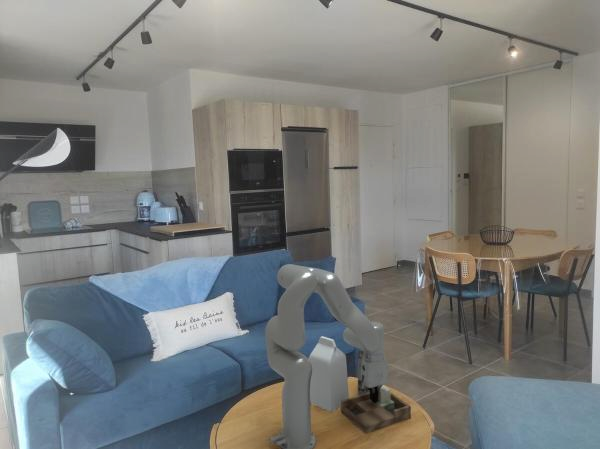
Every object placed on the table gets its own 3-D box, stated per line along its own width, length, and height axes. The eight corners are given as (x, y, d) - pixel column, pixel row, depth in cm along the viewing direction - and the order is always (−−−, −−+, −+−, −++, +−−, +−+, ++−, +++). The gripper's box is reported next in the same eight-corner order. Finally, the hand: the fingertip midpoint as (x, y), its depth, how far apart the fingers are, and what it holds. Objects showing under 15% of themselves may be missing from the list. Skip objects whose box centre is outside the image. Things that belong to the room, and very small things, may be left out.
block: (381, 402, 170) (381, 392, 169) (374, 397, 174) (374, 387, 173) (390, 399, 172) (390, 389, 172) (383, 394, 176) (383, 385, 175)
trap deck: (366, 433, 155) (366, 421, 154) (341, 412, 169) (341, 401, 168) (410, 417, 164) (410, 406, 163) (383, 398, 178) (383, 387, 177)
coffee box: (373, 398, 178) (373, 360, 176) (357, 397, 179) (357, 359, 177) (374, 387, 187) (374, 350, 185) (359, 386, 188) (358, 350, 186)
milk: (307, 401, 177) (305, 339, 174) (325, 390, 185) (324, 330, 182) (331, 412, 169) (329, 346, 166) (349, 400, 177) (348, 337, 174)
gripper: (363, 363, 161) (363, 410, 163) (396, 354, 168) (396, 400, 170) (351, 355, 168) (352, 401, 170) (383, 347, 175) (383, 391, 177)
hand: (374, 400), depth 170 cm, fingers closed
